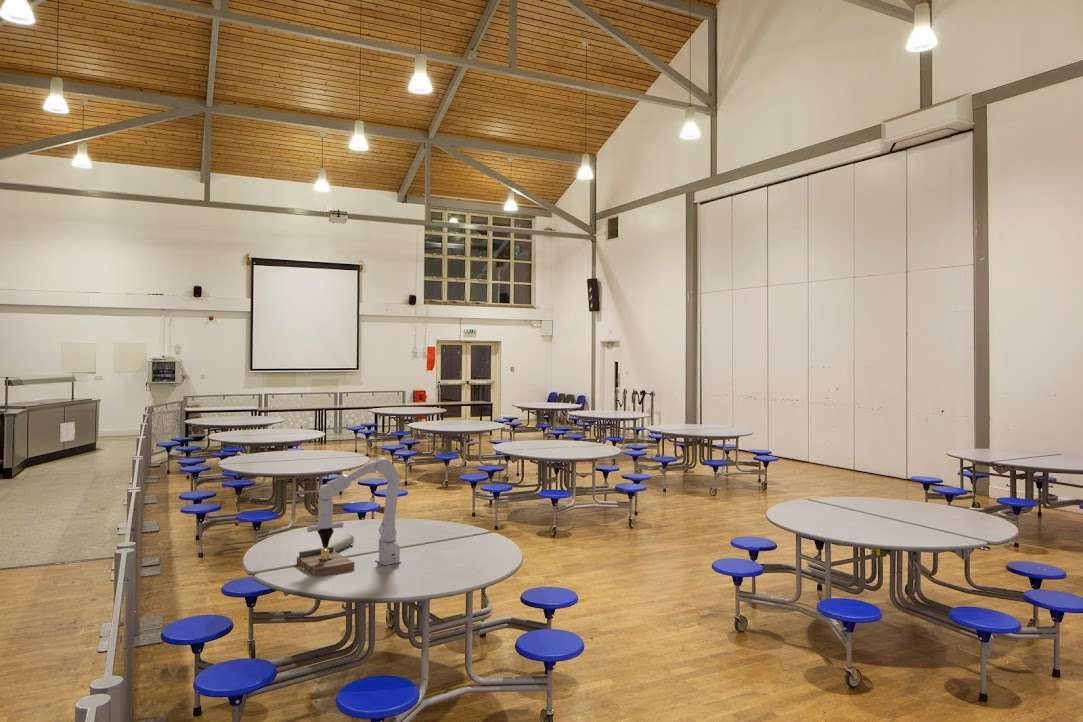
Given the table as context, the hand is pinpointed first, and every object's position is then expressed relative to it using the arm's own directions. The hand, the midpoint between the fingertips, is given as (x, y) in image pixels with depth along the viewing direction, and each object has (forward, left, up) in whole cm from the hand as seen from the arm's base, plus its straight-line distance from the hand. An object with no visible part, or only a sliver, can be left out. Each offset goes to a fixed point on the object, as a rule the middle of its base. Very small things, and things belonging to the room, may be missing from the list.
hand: (325, 547), depth 276 cm
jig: (0, 0, -8) cm, 8 cm away
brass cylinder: (0, 0, -8) cm, 8 cm away
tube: (+21, -12, -9) cm, 25 cm away
